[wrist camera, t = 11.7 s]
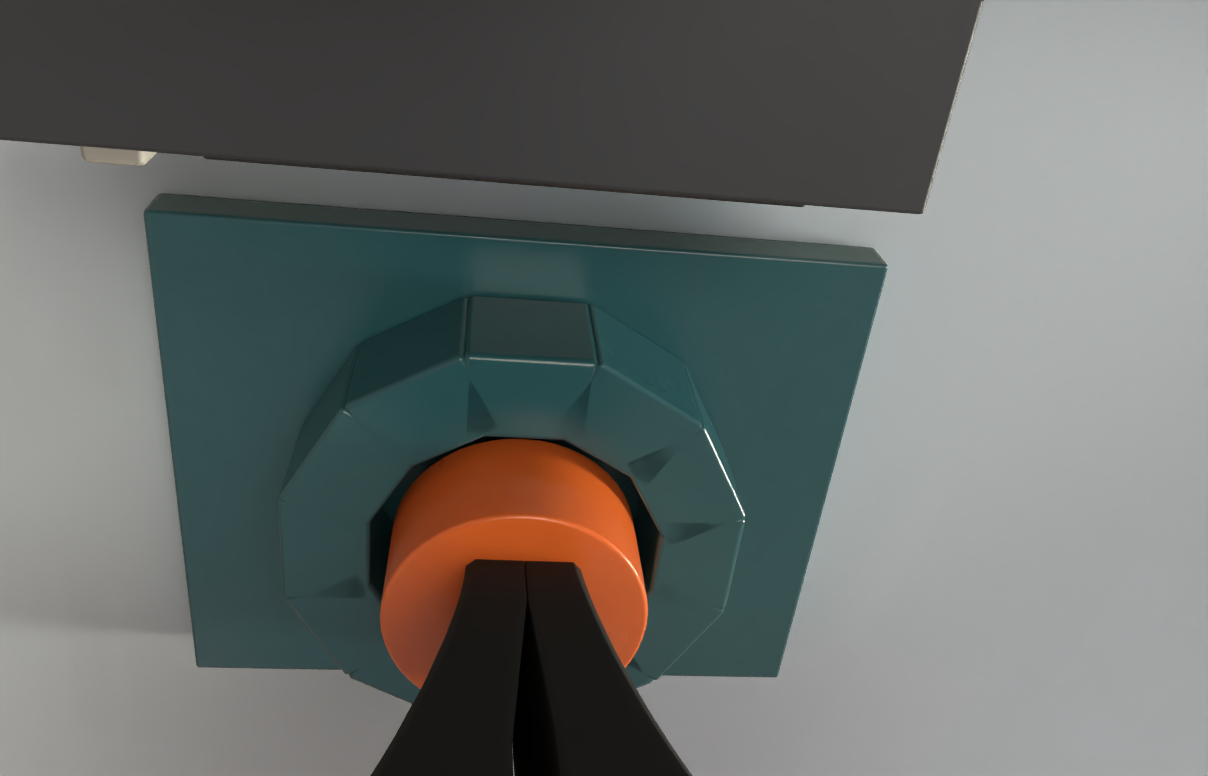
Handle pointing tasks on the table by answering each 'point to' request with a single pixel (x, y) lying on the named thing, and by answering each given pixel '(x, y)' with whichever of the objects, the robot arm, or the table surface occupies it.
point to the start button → (507, 541)
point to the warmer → (508, 90)
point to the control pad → (493, 410)
